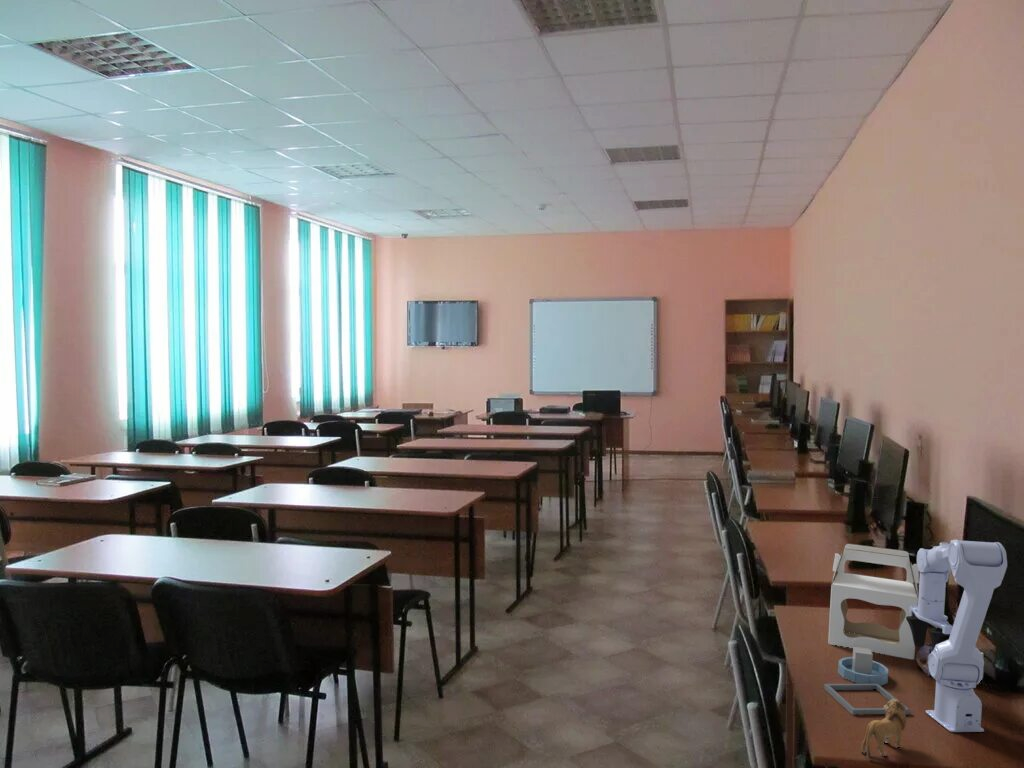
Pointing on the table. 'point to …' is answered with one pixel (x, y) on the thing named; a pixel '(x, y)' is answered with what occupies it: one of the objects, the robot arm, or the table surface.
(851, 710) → the tray
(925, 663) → the skull
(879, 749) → the lion figurine
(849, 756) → the table surface
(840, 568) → the gable box
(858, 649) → the stone block
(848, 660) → the bowl
